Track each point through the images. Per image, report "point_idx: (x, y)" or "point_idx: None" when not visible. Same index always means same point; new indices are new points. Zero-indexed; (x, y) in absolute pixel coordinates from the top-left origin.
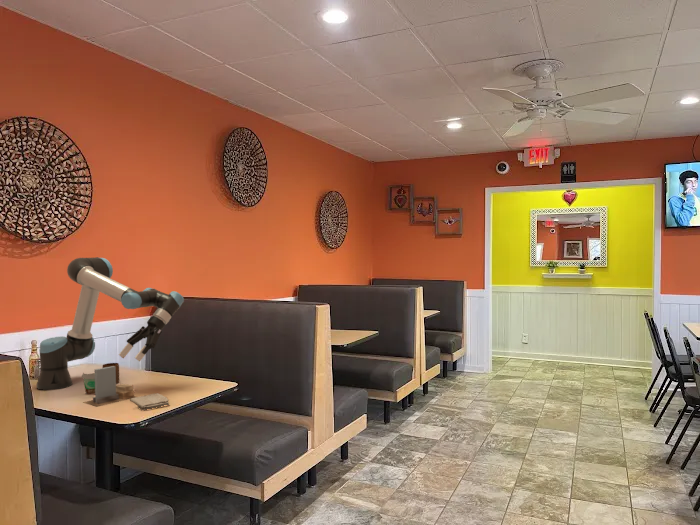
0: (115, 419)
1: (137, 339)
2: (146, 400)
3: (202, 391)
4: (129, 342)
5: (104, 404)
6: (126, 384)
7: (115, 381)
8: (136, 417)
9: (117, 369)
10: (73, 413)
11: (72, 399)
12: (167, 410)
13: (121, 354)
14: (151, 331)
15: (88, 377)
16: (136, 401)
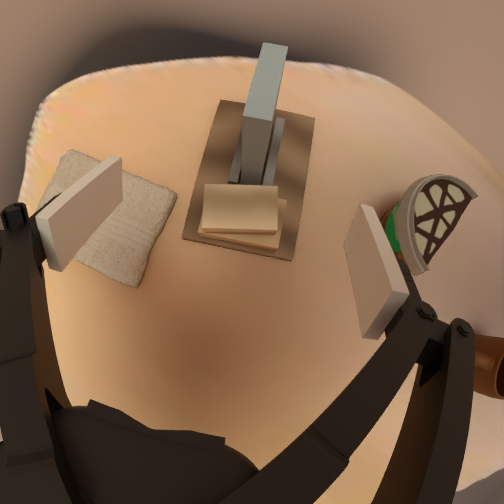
0: (97, 83)
1: (344, 389)
2: None
3: None
4: (407, 310)
5: (218, 123)
6: (245, 226)
7: (242, 153)
8: (59, 115)
9: (480, 381)
10: (249, 64)
11: (401, 158)
12: (22, 191)
13: (358, 220)
14: (4, 450)
15: (428, 176)
16: None
